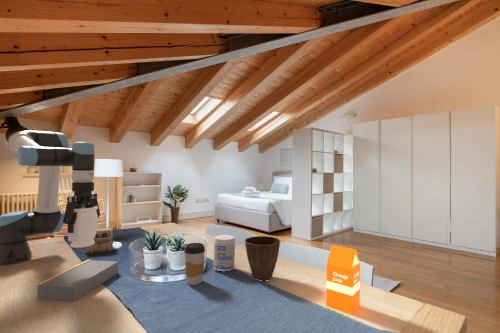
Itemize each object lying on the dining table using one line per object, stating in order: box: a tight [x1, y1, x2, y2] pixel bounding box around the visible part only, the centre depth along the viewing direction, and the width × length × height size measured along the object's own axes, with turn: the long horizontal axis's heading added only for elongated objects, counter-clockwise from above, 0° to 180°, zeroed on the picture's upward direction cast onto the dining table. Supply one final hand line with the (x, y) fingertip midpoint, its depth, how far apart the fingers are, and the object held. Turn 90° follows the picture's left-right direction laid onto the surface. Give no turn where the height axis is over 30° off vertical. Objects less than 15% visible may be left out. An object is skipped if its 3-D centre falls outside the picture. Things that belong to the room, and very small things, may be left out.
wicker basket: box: [81, 226, 114, 256], centre depth 155 cm, size 15×14×11 cm
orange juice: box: [325, 244, 361, 315], centre depth 95 cm, size 8×9×20 cm
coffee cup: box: [183, 242, 206, 286], centre depth 114 cm, size 8×8×15 cm
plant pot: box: [244, 235, 281, 282], centre depth 119 cm, size 15×15×16 cm
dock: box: [37, 258, 119, 302], centre depth 110 cm, size 26×14×5 cm, turn 174°
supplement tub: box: [213, 234, 236, 272], centre depth 129 cm, size 10×10×15 cm
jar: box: [66, 205, 99, 249], centre depth 110 cm, size 11×10×15 cm
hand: (82, 237), depth 110 cm, fingers closed on jar, 10 cm apart
